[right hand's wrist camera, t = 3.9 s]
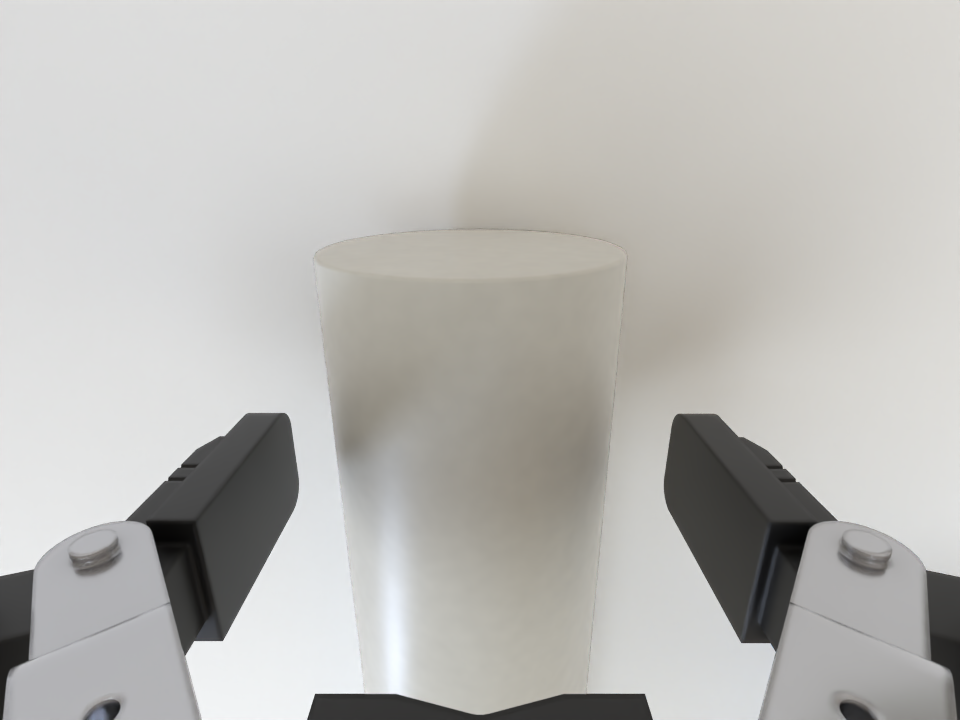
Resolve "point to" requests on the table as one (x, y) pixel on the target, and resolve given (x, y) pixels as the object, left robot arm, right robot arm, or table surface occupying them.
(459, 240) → the cylinder
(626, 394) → the table surface
